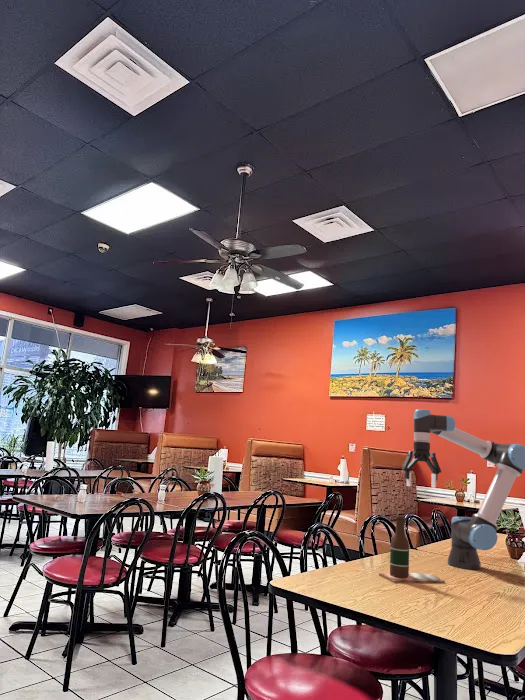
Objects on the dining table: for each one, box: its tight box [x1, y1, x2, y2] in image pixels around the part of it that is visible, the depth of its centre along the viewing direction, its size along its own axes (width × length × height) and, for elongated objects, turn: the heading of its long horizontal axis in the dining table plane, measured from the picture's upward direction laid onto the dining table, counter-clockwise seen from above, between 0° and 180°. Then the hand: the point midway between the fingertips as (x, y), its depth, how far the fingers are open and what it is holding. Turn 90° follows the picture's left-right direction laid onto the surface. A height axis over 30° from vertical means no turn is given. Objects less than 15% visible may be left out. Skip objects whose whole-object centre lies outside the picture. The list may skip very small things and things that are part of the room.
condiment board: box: [378, 572, 446, 584], centre depth 212 cm, size 24×12×1 cm, turn 106°
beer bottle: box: [389, 515, 410, 578], centre depth 213 cm, size 8×8×24 cm
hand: (421, 487), depth 240 cm, fingers open, 13 cm apart
